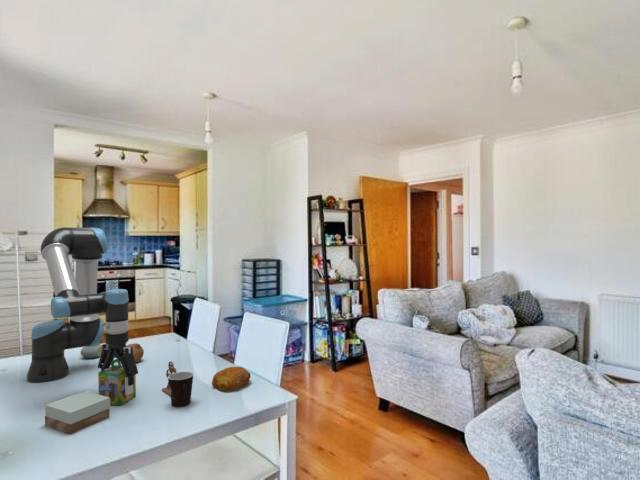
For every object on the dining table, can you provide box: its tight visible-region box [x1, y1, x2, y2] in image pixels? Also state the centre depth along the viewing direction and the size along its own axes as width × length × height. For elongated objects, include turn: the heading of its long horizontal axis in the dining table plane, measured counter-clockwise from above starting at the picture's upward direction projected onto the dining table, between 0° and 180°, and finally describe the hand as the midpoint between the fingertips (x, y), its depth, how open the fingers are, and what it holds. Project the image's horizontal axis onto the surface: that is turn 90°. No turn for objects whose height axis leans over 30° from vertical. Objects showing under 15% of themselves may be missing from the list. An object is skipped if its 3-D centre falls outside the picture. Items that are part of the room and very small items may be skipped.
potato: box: [211, 366, 251, 393], centre depth 162 cm, size 14×16×8 cm
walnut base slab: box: [44, 408, 110, 435], centre depth 130 cm, size 13×13×4 cm
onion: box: [126, 342, 145, 363], centre depth 192 cm, size 10×9×10 cm
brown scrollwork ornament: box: [161, 360, 177, 397], centre depth 154 cm, size 9×4×12 cm, turn 43°
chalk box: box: [97, 358, 137, 406], centre depth 147 cm, size 9×9×15 cm
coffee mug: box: [167, 371, 194, 408], centre depth 142 cm, size 12×9×10 cm
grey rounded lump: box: [80, 341, 103, 359], centre depth 202 cm, size 11×8×10 cm
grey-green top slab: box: [44, 390, 111, 424], centre depth 130 cm, size 13×13×4 cm
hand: (117, 390), depth 147 cm, fingers open, 12 cm apart
